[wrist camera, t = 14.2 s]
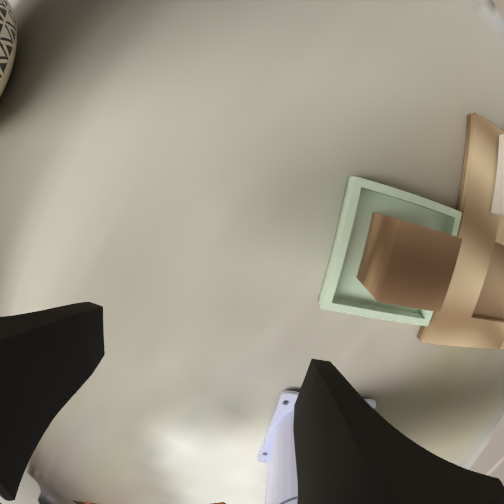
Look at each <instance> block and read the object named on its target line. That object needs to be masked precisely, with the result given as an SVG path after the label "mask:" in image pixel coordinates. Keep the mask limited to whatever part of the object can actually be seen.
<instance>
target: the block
mask: <svg viewBox="0 0 504 504" xmlns="http://www.w3.org/2000/svg"><path fill="white" fill-rule="evenodd" d="M461 243H462V238H459V237H456V236H453V235H450V234H447V233H444V232H440V231H437V230H434V229H431V228H428V227H424V226H421V225H418V224H414V223H411V222H407V221H404V220H401V219H397V218H393V217H389V216H385V215H382V214H378V213H374V212H373V213H372V218H371V222H370V227H369V231H368V235H367V239H366V243H365V247H364V251H363V255H362V259H361V263H360V266H359V270H358V273H357V277H356V278H357V279H358V280H359V281H360V282H361V283H362V284H363V286H364V287H365V288H366V289H367V290H368V291H369V293H370V294H371V295H372V296H373V297H374V298H375V300H376V301H377V302H381V303H387V304H393V305H399V306H405V307H411V308H417V309H423V310H429V311H435V312H440V311H441V308H442V306H443V303H444V300H445V297H446V294H447V291H448V288H449V285H450V282H451V279H452V275H453V272H454V269H455V265H456V262H457V258H458V254H459V251H460V247H461Z"/></svg>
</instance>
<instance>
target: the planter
mask: <svg viewBox="0 0 504 504" xmlns="http://www.w3.org/2000/svg"><path fill="white" fill-rule="evenodd" d="M16 46H17V24H16V18H15V14H14V11H13V9H12V7H11V5H10V3H9V1H8V0H0V97H1V95H2V93H3V91H4V89H5V86H6V84H7V82H8V79H9V76H10V74H11V71H12V67H13V63H14V59H15V54H16Z"/></svg>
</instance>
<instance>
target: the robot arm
mask: <svg viewBox="0 0 504 504" xmlns="http://www.w3.org/2000/svg"><path fill="white" fill-rule="evenodd" d="M103 356H104V336H103V307H102V306H99V305H96V304H94V303H91V302H83V303H76V304H71V305H66V306H61V307H56V308H52V309H47V310H42V311H37V312H32V313H26V314H20V315H14V316H6V317H0V496H1V497H2V498H4V499H5V500H8V501H11V500H15V497H16V493H17V490H18V487H19V484H20V481H21V479H22V476H23V473H24V471H25V469H26V467H27V464H28V462H29V460H30V458H31V456H32V454H33V452H34V450H35V448H36V446H37V444H38V443H39V441H40V439H41V437H42V436H43V434H44V432H45V431H46V429H47V428H48V426H49V425H50V423H51V421H52V420H53V419H54V417H55V416H56V415H57V413H58V412H59V411H60V410H61V409H62V407H63V406H64V405H65V404H66V403H67V402H68V401H69V400H70V398H71V397H72V396H73V395H74V394H75V393H76V392H77V391H78V389H79V388H80V387H81V386H82V385H83V384H84V383H85V382H86V380H87V379H88V378H89V377H90V376H91V375H92V373H93V372H94V370H95V369H96V367H97V366H98V364H99V363H100V361H101V359H102V358H103ZM285 400H288V402H284V401H285ZM376 405H377V404H376V401H375V400H373V399H363V398H362V397H361V396H360V394H359V393H358V392H357V391H356V390H355V389H354V388H353V387H352V386H351V385H350V383H349V382H348V381H347V380H346V379H345V378H344V377H343V375H342V374H341V373H340V372H339V371H338V370H337V369H336V367H335V366H334V365H333V364H332V363H331V362H330V361H323V360H316V359H312V360H311V362H310V365H309V368H308V371H307V373H306V376H305V379H304V381H303V384H302V387H301V389H300V392H296V391H289V390H287V391H284V392H282V394H281V397H280V399H279V402H278V405H277V408H276V410H275V413H274V416H273V418H272V421H271V424H270V426H269V429H268V432H267V434H266V437H265V439H264V442H263V444H262V447H261V449H260V452H259V454H258V459H257V460H258V461H260V462H265V463H268V467H267V482H266V497H265V504H504V486H503V484H502V482H501V481H500V480H499V479H498V478H494V477H491V476H487V475H483V474H480V473H477V472H473V471H470V470H467V469H465V468H462V467H460V466H457V465H455V464H453V463H450V462H448V461H446V460H444V459H442V458H440V457H438V456H436V455H434V454H433V453H431V452H429V451H428V450H426V449H424V448H423V447H421V446H419V445H418V444H416V443H415V442H413V441H412V440H410V439H409V438H407V437H406V436H405V435H403V434H402V433H401V432H399V431H398V430H397V429H396V428H394V427H393V426H392V425H391V424H389V423H388V422H387V421H386V420H385V419H384V418H383V417H382V416H381V415H379V414H378V413H377V412H376V411H375V410H374V409H375V407H376ZM0 504H1V503H0Z"/></svg>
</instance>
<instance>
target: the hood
mask: <svg viewBox="0 0 504 504" xmlns="http://www.w3.org/2000/svg"><path fill="white" fill-rule="evenodd" d="M491 213H493V214H495V215H497V216H502V217H504V134H502V135H499V149H498V163H497V173H496V182H495V189H494V196H493V202H492V208H491Z"/></svg>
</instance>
